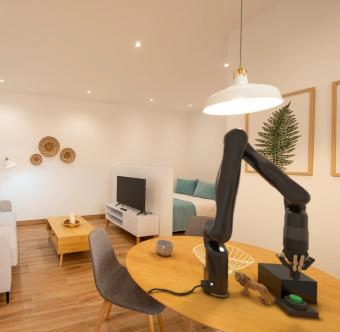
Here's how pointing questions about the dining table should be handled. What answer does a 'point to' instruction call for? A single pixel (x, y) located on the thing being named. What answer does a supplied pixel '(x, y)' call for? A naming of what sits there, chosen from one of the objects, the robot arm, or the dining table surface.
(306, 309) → the control block
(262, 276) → the cabinet
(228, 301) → the dining table surface
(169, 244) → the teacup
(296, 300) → the button
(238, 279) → the lion figurine
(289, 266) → the robot arm
